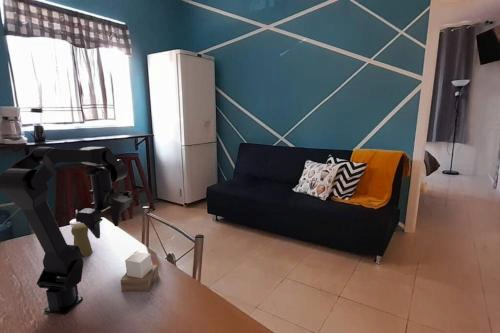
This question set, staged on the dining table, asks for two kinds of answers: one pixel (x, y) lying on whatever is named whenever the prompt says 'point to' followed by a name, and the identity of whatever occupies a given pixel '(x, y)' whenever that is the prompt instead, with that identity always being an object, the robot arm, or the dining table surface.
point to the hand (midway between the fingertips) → (107, 231)
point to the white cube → (138, 264)
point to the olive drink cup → (82, 239)
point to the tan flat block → (139, 281)
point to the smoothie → (73, 222)
